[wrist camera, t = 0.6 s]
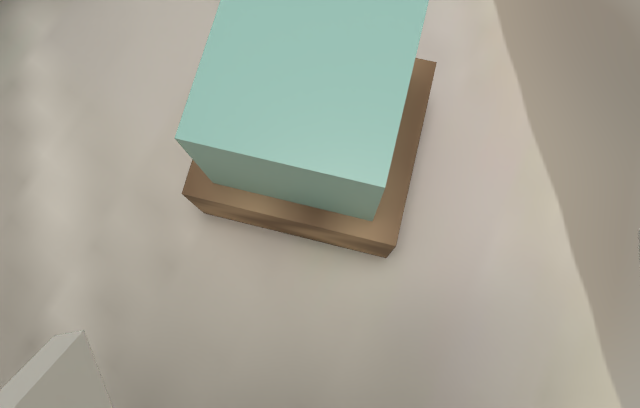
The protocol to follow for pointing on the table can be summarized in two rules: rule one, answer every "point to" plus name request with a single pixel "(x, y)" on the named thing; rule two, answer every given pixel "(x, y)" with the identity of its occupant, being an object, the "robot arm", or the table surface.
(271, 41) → the mint green cube
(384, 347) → the table surface
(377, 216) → the walnut box
